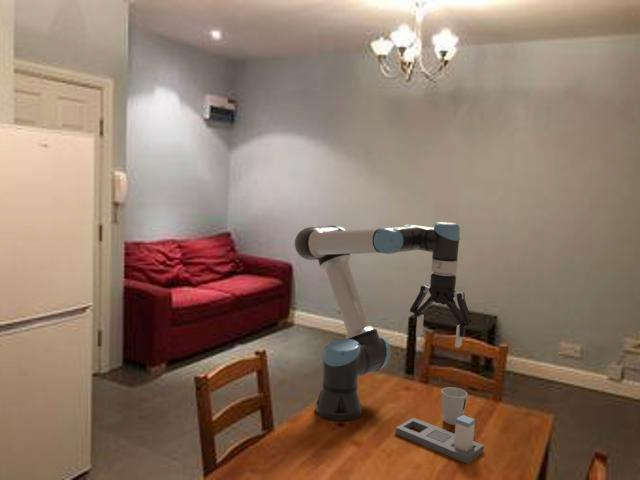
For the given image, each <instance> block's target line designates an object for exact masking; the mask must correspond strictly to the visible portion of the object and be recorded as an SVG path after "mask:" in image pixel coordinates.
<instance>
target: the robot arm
mask: <svg viewBox="0 0 640 480" xmlns="http://www.w3.org/2000/svg"><path fill="white" fill-rule="evenodd" d="M460 231H461V229H460V225H459V224H458V223H456V222H448V221H447V222H446V221H444V222H443V221H437V222H436V223H434V226H433V227H429V226H423V225H417V224H404V225H402V226H398V227H397V226H394V227H392V226H391V227H382V228H367V229H351V230H349V229H345V228H343V227H342V226H338V225H326V226H324V225H323V226H311V227H305V228H304V229H302V230H300V231H299V232H298V233H297V234H296V237H295V238H294V248H295V251H296V253H297V254H298V256H300V258H303V259H305V260H308V261H309V260H310V261H314V260H315V261H316V260H318V264H319V266H320V268H322V269H324V270H325V272H326V274H327V277H328V280H329V283H330V287H331V289H332V291H333V295H334V297H335V300H336V303H337V307H338V310H339V313H340V315H341V319H342V321H343V324H344V328H345V330H346V333H347V334H346V336H345V338H336V339H332V340H331V341H329V342H328V343H326V345H325V347H324V352H323V356H322V360H323V364H322V384H321V385H322V387H321V390H320V392H319V395H318V397H317V401H316V403H315V412H316V414H317V413H318V414H317V415H319V417H321V418H324V419H326V420H330V421H335V422H348V421H353V420H356V419H358V418H359V417H360V416H361V415H362V408H363V407H362V403H361V400H360V396H359V392H358V386H359V378H360V377H362V376H365V375H368V374H370V373H375V372H377V371H380V370H381V369H382V368H384V367H386V365H388V363H389V360H390V358H391V347H390V344H389V342H388V340H387V339H386V338H385V337H383V336H382V335H381V334H380V335H379V332H378V329H377V328H376V327H374V326H372V324H370V323H371V322H370V320H369V317H368V315H367V312H366V309H365V306H364V303H363V300H362V298H361V294H360V291H359V289H358V286H357V283H356V280H355V277H354V275H353V272H352V269H351V266H350V263H349V261H350V259H351V257H352V256H351V254H352V255H353V254H355V255H356V254H357V255H359V254H385V255H386V254H387V255H390V254H395V253H401V252H410V251H411V252H412V251H423V252H428V253H431V254H432V255H431V256H432V257H431V269H430V271H431V273H430V282H429V284H430V286H429V285H428V284H423V285H420V289H419V293H418V294H417V296H416V298H415V300H414V302H413V303H412V305H411V306H410V309H409V312H410V313H413V314H414V325H415V326H416V328H415V337H416V338H418V337H421V336H423V333H424V332H423V331H424V329H423V328H424V320H425V319H424V318H425V317H424V314H423V313H424V312H426V310H427V309H428V308H429V307H431V305H433V303H435V304H441V305H444V306H445V305H446V307H447V308H448V309H449V310H450V311H451V313H452V315H453V317H454V318H455V320H456V322H457V323H458V325H457V326H456V329H455V330H456V333H455V344H454V348H460V347H462V345H463V344H462V342H463V338H464V337H465V336H466V328H467V327H469V326H472V324H473V320H472V317H471V314H470V311H469V308H468V305H467V302H466V299H465V298H466V297H465V296H466V295H465V292H464V291H462V292H456V290H455V288H456V283H457V282H456V281H457V276H456V274H457V273H458V271H457V269H458V255H459V246H460V240H461V239H460V238H461V237H460V233H461V232H460ZM427 293H429V295H430V296H429V297H428V298H427V300H426V301H425V302H423V301H424V299H425V297H426V296H427ZM454 298H455V299H454ZM455 300H456V301H457V302H456V301H455ZM422 302H423V304H422ZM456 303H457V304H456ZM421 304H422V305H421ZM457 305H458V306H457ZM458 307H459V308H458Z"/></svg>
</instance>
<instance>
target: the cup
mask: <svg viewBox="0 0 640 480" xmlns="http://www.w3.org/2000/svg"><path fill="white" fill-rule="evenodd" d="M467 399H468V393H467V391H466V390H465V389H462V388H458V387H444V388H442V389H441V411H442V417H443V420H444V422H445V423H446V424H447V425H451V426H455V425H456V419H457V418H458V417H460V416H461V415H465V409H466V406H467Z"/></svg>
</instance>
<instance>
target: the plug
mask: <svg viewBox="0 0 640 480" xmlns="http://www.w3.org/2000/svg"><path fill="white" fill-rule="evenodd" d="M475 422H476V419H475V418H473V417H469V416H467V415H465V414H463V415H461V416H460V417H458V418H457V419H456V425H454V427H455V428H454V434H455V437H454V447H455V448H457V449H459V450H462V451H464V452H467V453H468V452H470V451H471V450H472V449H473V441H474V437H475V427H476V426H475V425H476V423H475Z"/></svg>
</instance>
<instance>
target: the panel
mask: <svg viewBox="0 0 640 480" xmlns="http://www.w3.org/2000/svg"><path fill="white" fill-rule="evenodd" d="M412 428H414V429H416V430H419V431H420V432H418V431H415V430H413V429H412ZM395 434H396V435H398V436H400V437H402V438H405V439H408V440H410V441H412V442H414V443H417V444H419V445H421V446H424V447H426V448H428V449H431V450H433V451H436V452H437V453H438V452H439V453H440V454H443V455H446V456H447V457H450V458H451V459H454V460H458V461H460V462H462V463H464V464H467V465H468V464H469V463H471V462H472V461H473V460H475V459H476V458H477V457H478V456H479V455H481V454H482V453H484V446H485V445H484V444H483V443H479V442H477V441H474V440H473V449H472V450H471V451H470V452H468V453H467V452H464V451H462V450H459V449H457V448H455V447H454V437H455V432H454V433H453V432H452V431H449V430H446V429H443V428H441V427H439V426H436V425H434V424H431V423H428V422H426V421H423V420H421V419H418V418H415V417H412V418H410V419H408V420H406V421H405V422H403V423H401V424H399V425H398V426H396V427H395Z"/></svg>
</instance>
